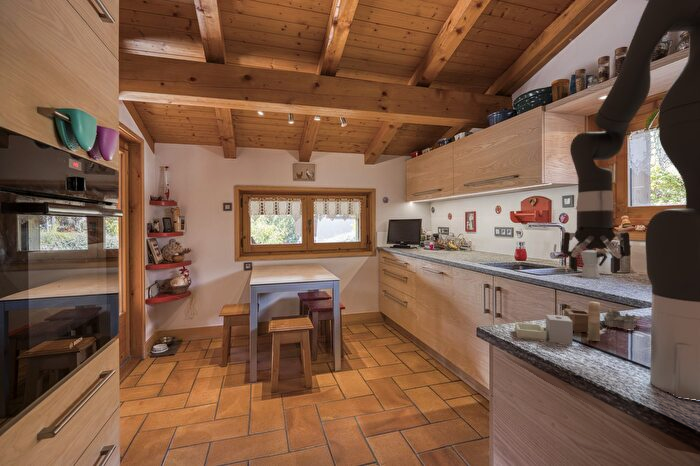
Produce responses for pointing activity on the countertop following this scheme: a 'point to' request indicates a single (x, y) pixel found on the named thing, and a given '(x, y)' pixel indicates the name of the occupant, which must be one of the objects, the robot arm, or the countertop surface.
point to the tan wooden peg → (594, 321)
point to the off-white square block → (559, 329)
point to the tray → (530, 331)
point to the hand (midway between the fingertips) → (593, 272)
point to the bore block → (578, 319)
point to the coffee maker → (591, 263)
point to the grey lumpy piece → (620, 319)
